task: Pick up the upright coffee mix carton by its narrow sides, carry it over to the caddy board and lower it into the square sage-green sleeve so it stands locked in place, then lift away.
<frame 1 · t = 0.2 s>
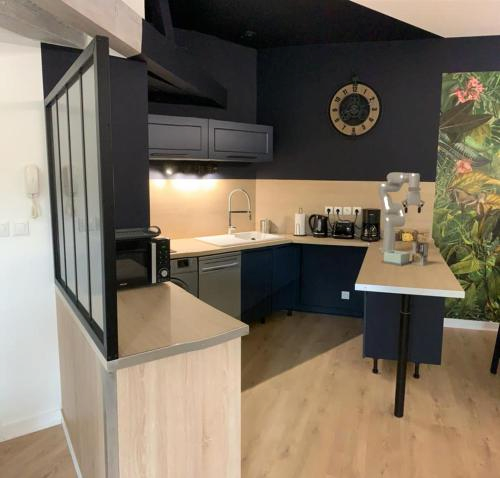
hand: (412, 213, 336), 37 cm above the countertop, tool pointing down, fingers open, 9 cm apart
caddy: (396, 262, 336), on the countertop
coffee box: (419, 264, 332), on the countertop
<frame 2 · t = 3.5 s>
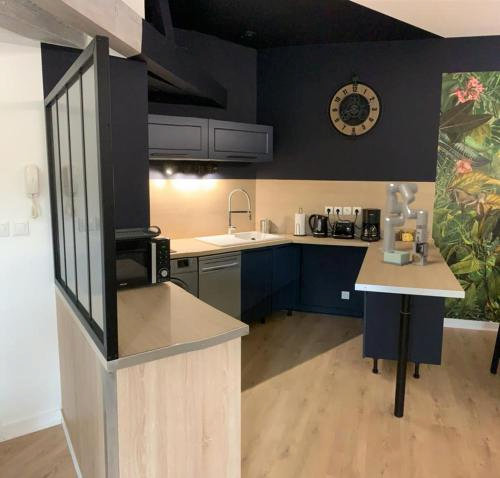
hand: (420, 251, 330), 10 cm above the countertop, tool pointing down, fingers closed on coffee box, 6 cm apart
coffee box: (419, 264, 332), on the countertop, touching gripper
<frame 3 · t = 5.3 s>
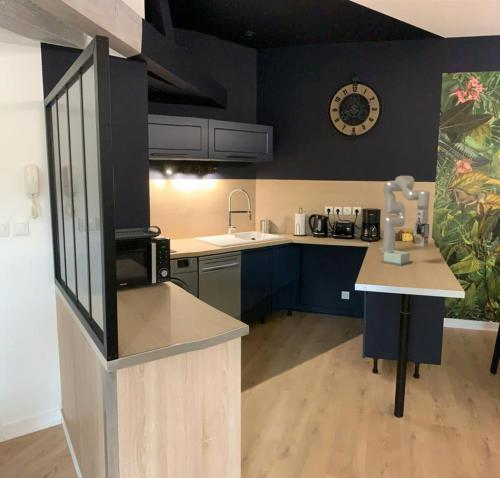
hand: (421, 232, 329), 24 cm above the countertop, tool pointing down, fingers closed on coffee box, 6 cm apart
coffee box: (420, 245, 330), point 14 cm above the countertop, touching gripper
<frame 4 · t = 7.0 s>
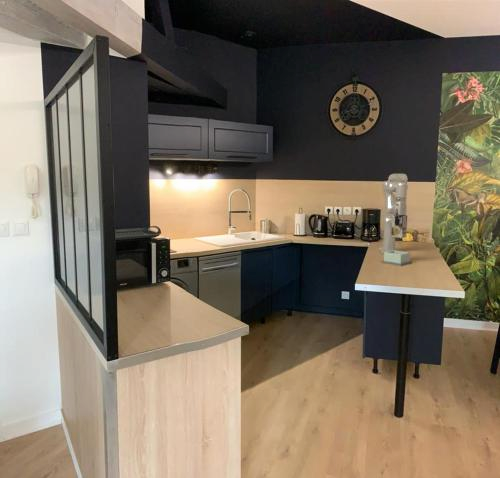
hand: (399, 223, 332), 29 cm above the countertop, tool pointing down, fingers closed on coffee box, 6 cm apart
coffee box: (398, 237, 333), point 19 cm above the countertop, touching gripper
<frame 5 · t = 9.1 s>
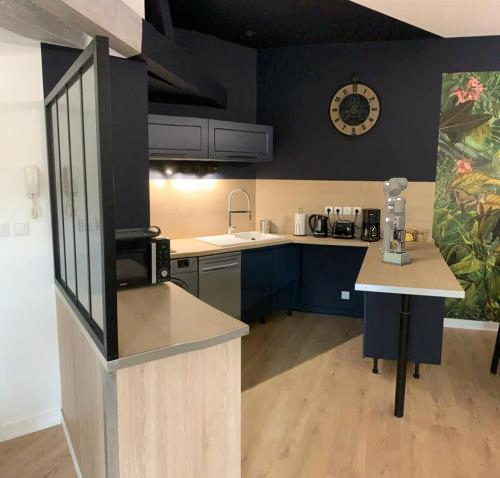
hand: (397, 238, 333), 19 cm above the countertop, tool pointing down, fingers closed on coffee box, 6 cm apart
coffee box: (397, 251, 335), point 9 cm above the countertop, touching gripper
when the fingers open (12 cm above the countertop, at t = 10.8 s): coffee box drops 1 cm, resting on caddy.
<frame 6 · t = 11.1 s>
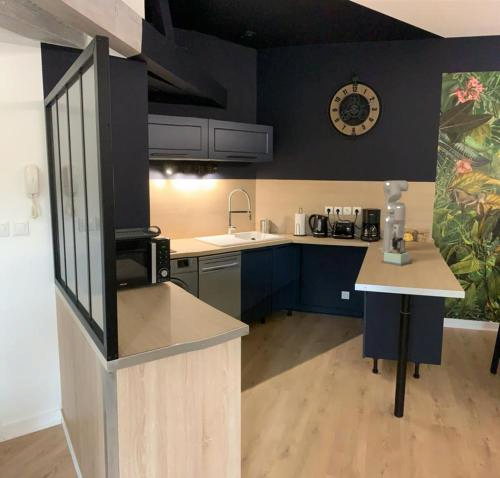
hand: (397, 245, 334), 13 cm above the countertop, tool pointing down, fingers open, 8 cm apart
coffee box: (396, 261, 336), point 1 cm above the countertop, touching caddy
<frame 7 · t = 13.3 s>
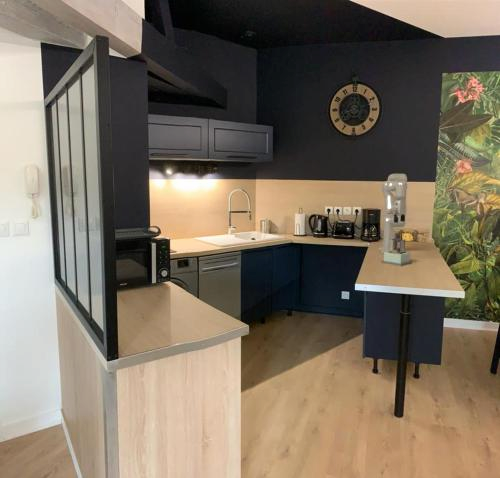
hand: (399, 221, 334), 31 cm above the countertop, tool pointing down, fingers open, 9 cm apart
nothing on the countertop moved.
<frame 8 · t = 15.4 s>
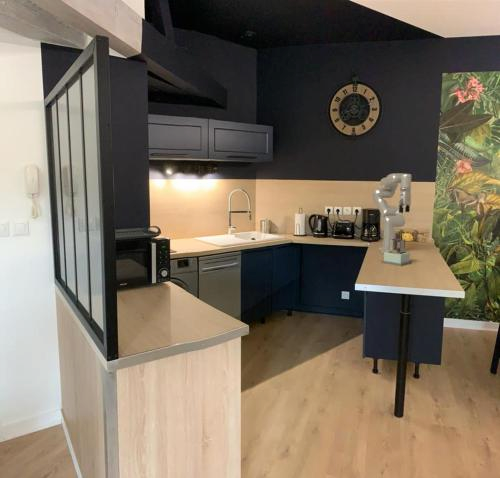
hand: (404, 212, 348), 36 cm above the countertop, tool pointing down, fingers open, 9 cm apart
nothing on the countertop moved.
at the end: coffee box 0.3 cm off-centre on the caddy, point 1.3 cm above the caddy's base; coffee box tilted 0°; the gripper is holding nothing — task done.
